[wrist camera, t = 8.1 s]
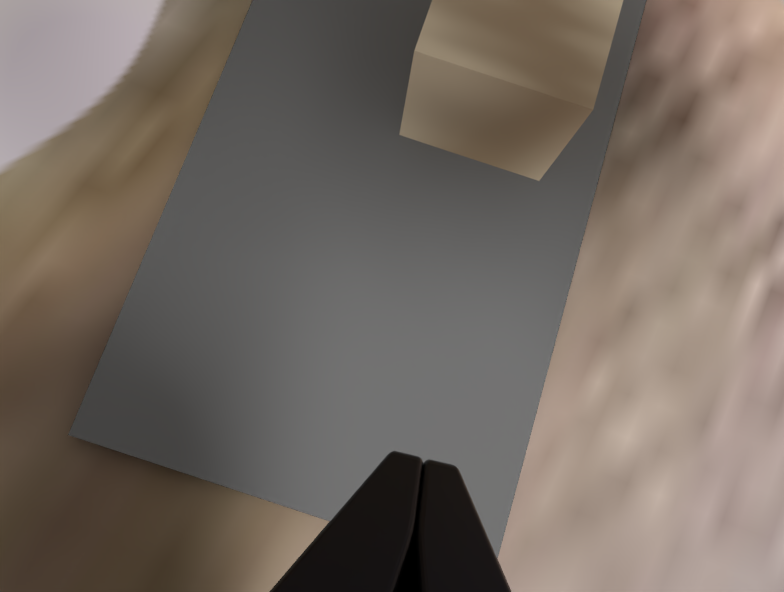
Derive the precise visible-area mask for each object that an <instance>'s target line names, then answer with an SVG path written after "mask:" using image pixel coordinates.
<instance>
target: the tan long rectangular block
mask: <svg viewBox="0 0 784 592" xmlns="http://www.w3.org/2000/svg"><path fill="white" fill-rule="evenodd" d="M622 4H623V0H432V2H431V5H430V8H429V10H428V13H427V16H426V19H425V22H424V25H423V27H422V30H421V33H420V36H419V39H418V42H417V44H416V47H415V50H414V55H413V61H412V66H411V72H410V78H409V83H408V89H407V94H406V100H405V106H404V111H403V117H402V122H401V128H400V134H399V135H401V136H404V137H407V138H410V139H413V140H416V141H419V142H422V143H425V144H428V145H431V146H434V147H437V148H440V149H443V150H446V151H449V152H453V153H456V154H459V155H462V156H465V157H468V158H471V159H474V160H477V161H480V162H483V163H486V164H489V165H492V166H495V167H498V168H501V169H504V170H507V171H510V172H513V173H516V174H519V175H522V176H525V177H528V178H531V179H534V180H537V181H539V180H540V179H541V178H542V177H543V175H544V174H545V173H546V171H547V170H548V169H549V167H550V166H551V165H552V163H553V162H554V161H555V159H556V158H557V157H558V155H559V154H560V153H561V152H562V150H563V149H564V148H565V146H566V145H567V144H568V142H569V141H570V140H571V138H572V137H573V136H574V134H575V133H576V132H577V130H578V129H579V128H580V127H581V125H582V124H583V123H584V121H585V120H586V119H587V117H588V116H589V115H590V113H591V112H592V111H593V109H594V105H595V102H596V98H597V94H598V91H599V87H600V83H601V80H602V76H603V73H604V69H605V65H606V62H607V58H608V54H609V51H610V47H611V44H612V40H613V36H614V33H615V29H616V25H617V22H618V18H619V15H620V11H621V7H622Z"/></svg>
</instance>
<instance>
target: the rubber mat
mask: <svg viewBox="0 0 784 592" xmlns="http://www.w3.org/2000/svg"><path fill="white" fill-rule="evenodd" d="M431 2H432V0H253V1H252V3H251V6H250V8H249V10H248V13H247V15H246V17H245V20H244V22H243V24H242V27H241V29H240V31H239V34H238V36H237V39H236V41H235V43H234V46H233V48H232V50H231V53H230V55H229V57H228V60H227V62H226V64H225V67H224V69H223V71H222V74H221V76H220V79H219V81H218V83H217V86H216V88H215V90H214V93H213V95H212V97H211V100H210V102H209V104H208V107H207V109H206V112H205V114H204V116H203V119H202V121H201V123H200V126H199V128H198V130H197V133H196V135H195V137H194V140H193V142H192V144H191V147H190V149H189V152H188V154H187V156H186V159H185V161H184V163H183V166H182V168H181V170H180V173H179V175H178V177H177V180H176V182H175V185H174V187H173V189H172V192H171V194H170V196H169V199H168V201H167V203H166V206H165V208H164V210H163V213H162V215H161V217H160V220H159V222H158V225H157V227H156V229H155V232H154V234H153V236H152V239H151V241H150V243H149V246H148V248H147V250H146V253H145V255H144V257H143V260H142V262H141V265H140V267H139V269H138V272H137V274H136V276H135V279H134V281H133V283H132V286H131V288H130V290H129V293H128V295H127V298H126V300H125V302H124V305H123V307H122V309H121V312H120V314H119V316H118V319H117V321H116V323H115V326H114V328H113V330H112V333H111V335H110V338H109V340H108V342H107V345H106V347H105V349H104V352H103V354H102V356H101V359H100V361H99V363H98V366H97V368H96V371H95V373H94V375H93V378H92V380H91V382H90V385H89V387H88V389H87V392H86V394H85V396H84V399H83V401H82V403H81V406H80V408H79V411H78V413H77V415H76V418H75V420H74V422H73V425H72V427H71V429H70V432H69V434H68V435H70V436H73V437H76V438H79V439H82V440H85V441H88V442H91V443H94V444H97V445H100V446H103V447H106V448H109V449H112V450H115V451H118V452H121V453H124V454H127V455H130V456H133V457H136V458H140V459H143V460H146V461H149V462H152V463H155V464H158V465H161V466H164V467H167V468H170V469H173V470H176V471H179V472H182V473H185V474H188V475H191V476H194V477H197V478H200V479H203V480H206V481H209V482H212V483H215V484H218V485H221V486H224V487H227V488H231V489H234V490H237V491H240V492H243V493H246V494H249V495H252V496H255V497H258V498H261V499H264V500H267V501H270V502H273V503H276V504H279V505H282V506H285V507H288V508H291V509H294V510H297V511H300V512H303V513H306V514H309V515H312V516H315V517H318V518H322V519H325V520H328V521H331V520H332V519H333V517H334V516H335V515H336V514H337V513H338V512H339V510H340V509H341V508H342V507H343V506H344V505H345V503H346V502H347V501H348V500H349V499H350V498H351V496H352V495H353V494H354V493H355V492H356V491H357V489H358V488H359V487H360V486H361V485H362V484H363V483H364V481H365V480H366V479H367V478H368V477H369V476H370V474H371V473H372V472H373V471H374V470H375V469H376V467H377V466H378V465H379V464H380V463H381V462H382V460H383V459H384V458H385V457H386V456H387V455H388V454H389V453H390V452H392V451H398V452H402V453H406V454H411V455H415V456H418V457H420V458H421V459H422V461H423V463H424V462H425V461H426V460H428V459H431V460H435V461H439V462H443V463H448V464H452V465H455V466H456V467H457V468H458V469H459V471H460V473H461V475H462V478H463V480H464V482H465V485H466V487H467V489H468V492H469V494H470V496H471V499H472V501H473V503H474V506H475V508H476V510H477V513H478V515H479V517H480V520H481V522H482V524H483V527H484V529H485V531H486V534H487V536H488V538H489V541H490V543H491V545H492V548H493V550H494V552H495V555H496V557H497V558H498V555H499V551H500V547H501V543H502V540H503V536H504V532H505V528H506V525H507V521H508V517H509V514H510V510H511V506H512V502H513V499H514V495H515V491H516V487H517V484H518V480H519V476H520V472H521V469H522V465H523V461H524V457H525V454H526V450H527V446H528V442H529V439H530V435H531V431H532V427H533V424H534V420H535V416H536V412H537V409H538V405H539V401H540V397H541V394H542V390H543V386H544V382H545V379H546V375H547V371H548V367H549V364H550V360H551V356H552V352H553V349H554V345H555V341H556V337H557V334H558V330H559V326H560V322H561V319H562V315H563V311H564V307H565V304H566V300H567V296H568V292H569V289H570V285H571V281H572V277H573V274H574V270H575V266H576V262H577V259H578V255H579V251H580V247H581V244H582V240H583V236H584V232H585V229H586V225H587V221H588V217H589V214H590V210H591V206H592V202H593V199H594V195H595V191H596V187H597V184H598V180H599V176H600V172H601V169H602V165H603V161H604V157H605V154H606V150H607V146H608V142H609V139H610V135H611V131H612V127H613V124H614V120H615V116H616V112H617V109H618V105H619V101H620V97H621V94H622V90H623V86H624V82H625V79H626V75H627V71H628V67H629V64H630V60H631V56H632V52H633V49H634V45H635V41H636V37H637V34H638V30H639V26H640V22H641V19H642V15H643V11H644V7H645V4H646V0H623V4H622V7H621V11H620V15H619V18H618V22H617V25H616V29H615V33H614V36H613V40H612V44H611V47H610V51H609V54H608V58H607V62H606V65H605V69H604V73H603V76H602V80H601V83H600V87H599V91H598V94H597V98H596V102H595V105H594V109H593V111H592V112H591V113H590V115H589V116H588V117H587V119H586V120H585V121H584V123H583V124H582V125H581V127H580V128H579V129H578V130H577V132H576V133H575V134H574V136H573V137H572V138H571V140H570V141H569V142H568V144H567V145H566V146H565V148H564V149H563V150H562V152H561V153H560V154H559V155H558V157H557V158H556V159H555V161H554V162H553V163H552V165H551V166H550V167H549V169H548V170H547V171H546V173H545V174H544V175H543V177H542V178H541V179H540V180H539V181H537V180H534V179H531V178H528V177H525V176H522V175H519V174H516V173H513V172H510V171H507V170H504V169H501V168H498V167H495V166H492V165H489V164H486V163H483V162H480V161H477V160H474V159H471V158H468V157H465V156H462V155H459V154H456V153H453V152H449V151H446V150H443V149H440V148H437V147H434V146H431V145H428V144H425V143H422V142H419V141H416V140H413V139H410V138H407V137H404V136H401V135H399V134H400V128H401V122H402V117H403V111H404V106H405V100H406V94H407V89H408V83H409V78H410V72H411V66H412V61H413V55H414V50H415V47H416V44H417V42H418V39H419V36H420V33H421V30H422V27H423V25H424V22H425V19H426V16H427V13H428V10H429V8H430V5H431Z"/></svg>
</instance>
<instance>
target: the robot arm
mask: <svg viewBox="0 0 784 592" xmlns="http://www.w3.org/2000/svg"><path fill="white" fill-rule="evenodd" d="M270 592H511V590H510V587H509V585H508V583H507V580H506V578H505V576H504V573H503V571H502V569H501V566H500V564H499V562H498V559H497V557H496V555H495V552H494V550H493V548H492V545H491V543H490V541H489V538H488V536H487V534H486V531H485V529H484V527H483V524H482V522H481V520H480V517H479V515H478V513H477V510H476V508H475V506H474V503H473V501H472V499H471V496H470V494H469V492H468V489H467V487H466V485H465V482H464V480H463V478H462V475H461V473H460V471H459V469H458V468H457V467H456V466H455V465H452V464H448V463H443V462H439V461H435V460H431V459H428V460H426V461H425V462H424V463H423V461H422V459H421V458H420V457H418V456H415V455H411V454H406V453H402V452H398V451H392V452H390V453H389V454H388V455H387V456H386V457H385V458H384V459H383V460H382V462H381V463H380V464H379V465H378V466H377V467H376V469H375V470H374V471H373V472H372V473H371V474H370V476H369V477H368V478H367V479H366V480H365V481H364V483H363V484H362V485H361V486H360V487H359V488H358V489H357V491H356V492H355V493H354V494H353V495H352V496H351V498H350V499H349V500H348V501H347V502H346V503H345V505H344V506H343V507H342V508H341V509H340V510H339V512H338V513H337V514H336V515H335V516H334V517H333V519H332V520H331V521H330V522H329V523H328V524H327V526H326V527H325V528H324V529H323V530H322V531H321V532H320V534H319V535H318V536H317V537H316V538H315V539H314V541H313V542H312V543H311V544H310V545H309V546H308V548H307V549H306V550H305V551H304V552H303V553H302V555H301V556H300V557H299V558H298V559H297V560H296V562H295V563H294V564H293V565H292V566H291V567H290V569H289V570H288V571H287V572H286V573H285V574H284V575H283V577H282V578H281V579H280V580H279V581H278V582H277V584H276V585H275V586H274V587H273V588H272V589H271V591H270Z"/></svg>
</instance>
